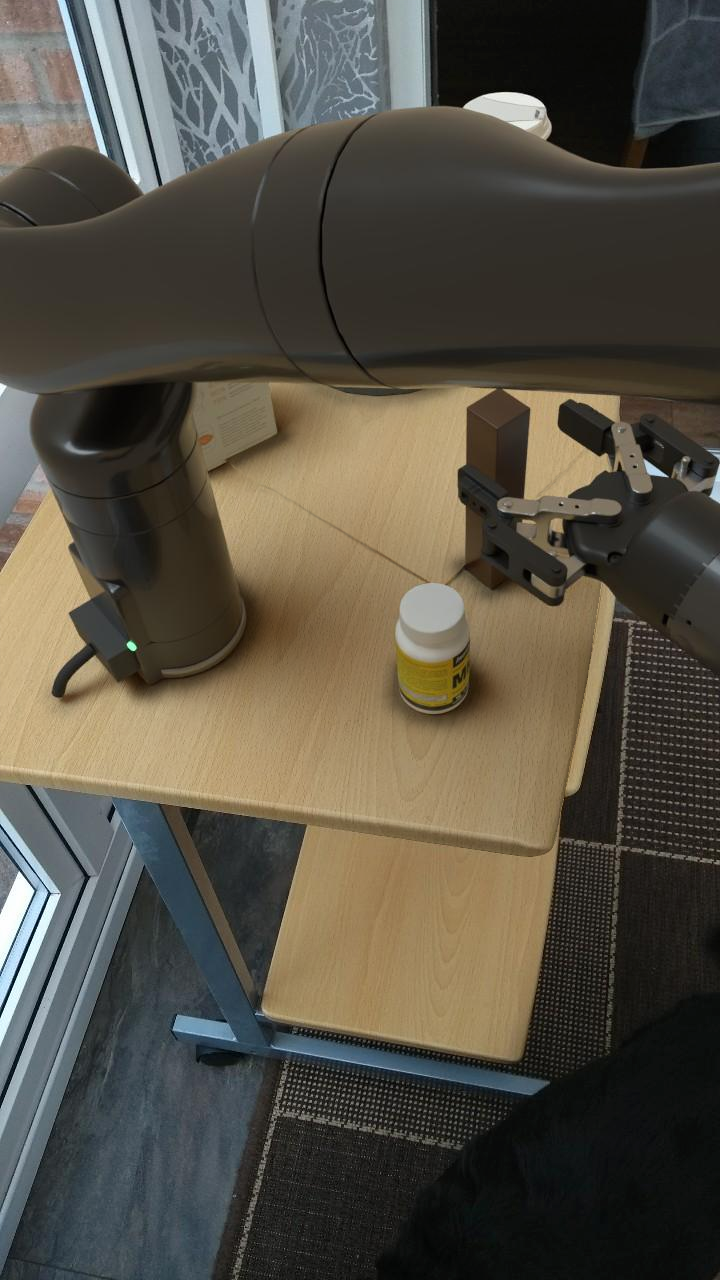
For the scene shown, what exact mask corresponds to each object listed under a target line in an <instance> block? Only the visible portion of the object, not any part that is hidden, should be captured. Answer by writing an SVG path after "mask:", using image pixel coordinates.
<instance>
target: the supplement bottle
mask: <svg viewBox="0 0 720 1280" xmlns="http://www.w3.org/2000/svg"><path fill="white" fill-rule="evenodd" d="M398 610H399V612H398V613H399V617H398V619H397V622H396V625H395V629H394V639H395V650H396V651H395V652H396V666H397V667H396V668H397V683H398V689H399V690H398V691H399V694H400V696H401V698H402V699H403V701H404V703H406V704H407V706H408V707H410V708H411V709H413V710H415V711H417V712H419V713H423V714H429V715H438V714H444V713H447V712H451V711H452V710H454V709H455V708H457V707H458V706H459V705H461V704H462V702H463V701H464V700H465V698H466V697H467V695H468V691H469V689H470V659H471V658H470V657H471V655H470V654H471V651H470V650H471V627H470V624H469V620H468V619H467V617H466V607H465V601H464V599H463V597H462V595H461V594H460V593H459V592H458V591H457V590H456V589H455V588H453V587H451V586H450V585H447V584H443V583H440V582H439V583H438V582H427V583H422V584H418V585H416V586H414V587H412V588H410V589H408V591H407V592H406V593H405V594H404V595H403V597H402V598H401V600H400V602H399V609H398Z"/></svg>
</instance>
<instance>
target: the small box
mask: <svg viewBox="0 0 720 1280" xmlns="http://www.w3.org/2000/svg"><path fill="white" fill-rule="evenodd" d="M274 412H275V411H274V406H273V399H272V394H271V390H270V385H269V383H201V382H197V397H196V402H195V406H194V411H193V417H194V421H195V425H196V429H197V433H198V437H199V440H200V444H201V448H202V452H203V456H204V460H205V464H206V467H207V471H208V472H210V471H211V470H214V469H216V468H218V467H220V466H221V465H223V464H226V463H228V461H227V459H229V458H231V457H233V456H235V455H238V454H240V453H241V452H243V451H246V450H248V449H250V448H251V447H254V446H256V445H258V444H260V443H262V442H264V441H266V440H268V439H270V438H271V437H274V436H275V435H277V434H278V428H277V421H276V418H275V413H274Z"/></svg>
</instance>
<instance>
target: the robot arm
mask: <svg viewBox="0 0 720 1280" xmlns="http://www.w3.org/2000/svg"><path fill="white" fill-rule="evenodd" d="M197 382H201V383H268V384H269V383H271V384H274V383H276V384H296V385H308V386H309V385H312V386H320V387H330V386H332V387H331V388H333V387H361V388H400V389H420V390H422V389H421V388H423V389H450V388H451V389H455V388H456V389H457V388H458V389H459V388H462V389H463V388H466V389H467V388H469V389H470V388H471V389H491V390H492V389H493V390H496V389H503V390H508V391H509V390H511V391H512V390H513V391H528V392H529V391H530V392H544V393H545V392H546V393H548V392H550V393H563V394H564V393H565V394H578V395H596V396H597V395H598V396H614V397H629V398H641V399H653V400H662V401H671V402H677V403H678V402H679V403H687V404H688V403H689V404H694V405H695V404H696V405H703V406H711V407H717V408H718V407H719V408H720V161H718V162H712V163H702V164H695V165H689V166H688V165H687V166H680V167H656V168H652V167H651V168H635V167H623V166H621V167H619V166H613V165H609V164H604V163H601V162H595V161H591V160H588V159H587V158H585V157H582V156H579V155H577V154H575V153H573V152H570V151H568V150H566V149H564V148H562V147H560V146H558V145H556V144H554V143H552V142H550V141H548V140H547V139H546V140H544V139H542V138H540V137H538V136H536V135H534V134H532V133H530V132H528V131H526V130H524V129H522V128H520V127H517V126H515V125H513V124H510V123H508V122H506V121H503V120H501V119H498V118H496V117H494V116H491V115H487V114H483V113H480V112H476V111H472V110H468V109H464V108H463V107H460V106H459V107H458V106H452V105H451V106H450V105H429V106H415V107H407V108H396V109H389V110H384V111H378V112H374V113H368V114H362V115H357V116H352V117H346V118H341V119H335V120H329V121H323V122H320V123H315V124H311V125H310V124H309V125H307V126H303V127H298V128H294V129H291V130H288V131H284V132H282V133H281V132H280V133H278V134H275V135H271V136H268V137H266V138H263V139H261V140H258V141H255V142H253V143H250V144H248V145H246V146H244V147H241V148H238V149H236V150H234V151H232V152H230V153H228V154H226V155H224V156H222V157H219V158H216V159H215V160H213V161H211V162H208V163H206V164H204V165H202V166H200V167H197V168H195V169H192V170H191V171H189V172H186V173H184V174H182V175H180V176H178V177H176V178H174V179H172V180H170V181H167V182H166V183H164V184H162V185H159V187H156V188H154V189H153V190H150V191H148V192H147V193H144V192H143V191H142V189H141V188H140V186H139V185H138V184H137V182H136V181H135V180H134V179H133V178H132V177H131V175H130V174H128V173H127V172H126V170H124V169H123V167H121V166H120V165H119V164H118V163H116V162H115V161H114V160H112V159H111V158H110V157H108V156H107V155H105V154H103V153H102V152H100V151H98V150H95V149H93V148H90V147H88V146H83V145H78V144H65V145H58V146H56V147H52V148H50V149H48V150H45V151H43V152H42V153H40V154H38V155H37V156H34V157H33V158H32V159H30V160H28V161H27V162H25V163H24V164H22V165H21V166H19V167H17V168H16V169H15V170H13V171H12V172H10V173H9V174H7V175H6V176H4V177H2V178H1V179H0V384H1V385H3V386H6V387H8V388H10V389H13V390H16V391H20V392H23V393H28V394H31V395H37V397H36V399H35V401H34V404H33V406H32V409H31V412H30V417H29V425H28V429H29V439H30V443H31V446H32V449H33V451H34V454H35V456H36V458H37V461H38V463H39V465H40V467H41V470H42V472H43V474H44V475H45V478H46V480H47V482H48V485H49V487H50V489H51V491H52V495H53V497H54V499H55V501H56V503H57V506H58V508H59V510H60V513H61V514H62V517H63V520H64V521H65V524H66V526H67V528H68V530H69V533H70V536H71V538H72V540H73V541H72V542H71V543H69V544H68V546H67V547H68V548H67V549H68V552H69V554H70V556H71V558H72V561H73V563H74V565H75V567H76V569H77V572H78V574H79V576H80V579H81V581H82V583H83V585H84V588H85V590H86V592H87V594H88V597H89V600H87V601H86V602H84V603H82V604H80V605H79V606H77V607H75V608H73V609H72V610H69V612H68V615H69V617H70V620H71V622H72V623H73V626H74V628H75V630H76V632H77V634H78V636H79V638H80V639H81V640H82V642H84V644H85V645H84V646H83V647H82V649H80V650H78V652H76V654H75V655H73V656H72V657H71V658H70V659H69V660H68V661H67V662H66V663H65V664H64V665H63V666H62V667H61V669H60V670H59V672H58V673H57V675H56V676H55V679H54V681H53V684H52V689H51V695H52V697H54V698H57V699H61V698H64V697H65V695H66V694H65V693H66V690H67V686H68V683H69V681H70V680H71V678H72V677H73V676H74V675H75V674H76V673H77V672H78V671H79V670H80V669H81V668H82V667H84V665H85V664H87V663H88V662H89V661H90V660H91V659H92V658H94V656H95V657H96V658H97V659H98V660H99V662H100V663H101V664H102V665H103V667H104V668H105V669H106V671H108V672H109V674H110V675H111V676H112V678H113V679H114V680H115V681H116V682H117V684H118V683H121V682H122V681H124V680H125V679H127V678H128V677H130V676H131V675H133V674H135V673H136V672H137V673H138V675H140V677H141V678H142V679H143V680H144V681H145V683H146V684H147V685H154V684H155V683H156V682H159V681H160V680H162V679H165V678H167V679H168V678H171V679H172V678H183V677H189V676H191V675H192V676H193V675H196V674H200V673H202V672H204V671H207V670H208V669H211V668H213V667H214V666H216V665H217V664H219V663H220V662H222V661H223V660H224V659H226V658H227V657H228V656H229V655H230V654H231V653H232V652H233V651H234V650H235V649H236V647H237V646H238V645H239V642H240V641H241V639H242V637H243V635H244V633H245V629H246V626H247V625H246V624H247V610H246V606H245V602H244V599H243V596H242V594H241V590H240V586H239V583H238V580H237V577H236V573H235V570H234V566H233V562H232V559H231V555H230V551H229V547H228V543H227V539H226V536H225V533H224V528H223V524H222V520H221V517H220V513H219V510H218V506H217V501H216V498H215V495H214V494H215V493H214V491H213V487H212V483H211V479H210V475H209V471H207V467H206V464H205V460H204V456H203V452H202V448H201V444H200V440H199V437H198V433H197V429H196V425H195V421H194V417H193V411H194V406H195V402H196V397H197ZM557 427H558V429H559V430H560V431H561V432H562V433H563V434H565V435H566V436H567V437H569V438H571V439H572V440H573V441H575V442H576V443H578V444H579V445H581V446H583V447H584V448H585V449H587V450H589V452H591V453H593V454H594V455H596V456H597V457H598V458H601V457H602V456H604V455H606V461H607V465H608V468H609V471H608V470H607V469H605V470H603V471H602V472H600V473H599V474H597V475H596V476H595V477H594V479H593V480H592V481H591V482H590V483H589V484H587V485H584V486H581V487H580V488H579V487H578V488H577V489H575V490H574V491H572V492H571V493H570V494H568V495H567V497H563V496H554V495H543V496H541V497H540V498H539V499H536V500H535V499H527V498H524V499H520V498H512V497H509V492H508V491H507V490H506V489H504V488H503V487H501V486H500V485H499V484H497V483H496V482H495V481H493V480H492V479H491V478H489V477H488V476H487V475H485V474H484V473H483V472H481V471H480V470H479V469H477V468H476V467H475V466H473V465H472V464H470V463H467V464H466V463H465V464H464V465H463V466H461V467H459V468H458V469H457V497H458V499H459V501H460V503H461V504H462V505H463V506H465V508H466V507H468V508H469V509H470V510H472V511H473V512H474V513H475V514H477V515H478V516H479V517H481V518H482V519H483V520H484V521H483V522H482V525H481V533H482V544H481V557H482V559H484V560H485V561H486V562H488V563H489V564H490V565H492V566H493V567H495V568H496V569H497V570H499V571H500V572H502V573H503V574H505V575H506V576H507V577H508V578H509V579H510V580H511V581H513V582H514V583H516V584H517V585H518V586H520V587H521V588H523V589H524V590H526V591H527V592H528V593H530V594H531V595H533V596H534V597H535V598H536V599H538V600H539V601H541V602H542V603H544V604H545V605H547V606H549V607H558V606H560V605H561V604H563V602H564V599H565V593H566V591H567V590H568V589H569V588H570V587H571V586H572V585H574V584H575V583H576V582H578V581H579V580H580V579H581V578H582V577H585V578H590V579H594V580H597V581H599V582H601V583H603V584H604V585H605V586H606V587H607V588H608V589H609V591H610V592H611V593H612V595H613V596H614V597H615V599H616V600H617V601H618V603H620V604H621V605H622V606H624V607H625V608H627V609H628V610H629V611H630V612H631V613H633V614H635V616H637V617H638V618H639V619H641V620H642V621H644V622H645V623H646V624H647V625H649V626H650V627H651V628H652V629H654V630H655V631H657V633H659V634H660V635H662V636H663V637H664V638H666V639H667V640H669V642H671V643H672V644H674V645H676V646H677V647H678V648H679V649H680V650H681V651H683V652H685V653H686V654H687V655H688V656H689V657H691V658H692V659H694V660H695V661H696V662H697V663H699V664H700V665H701V666H702V667H704V668H706V669H707V670H709V671H710V672H711V673H712V674H714V675H715V676H717V677H720V503H719V502H718V501H717V500H715V499H713V498H712V497H711V495H712V493H713V489H714V486H715V483H716V479H717V475H718V471H719V468H720V459H719V458H718V457H717V456H716V455H714V454H713V453H712V452H710V451H709V450H708V449H706V448H704V447H703V446H701V444H699V443H697V442H696V441H694V440H693V439H691V438H690V437H689V436H687V435H686V434H684V433H683V432H681V431H680V430H678V428H676V427H674V426H673V425H671V424H670V423H668V422H667V421H666V420H665V419H663V418H661V417H660V416H658V415H657V414H655V413H650V412H649V413H644V414H642V415H641V416H640V418H639V421H638V422H634V423H631V424H629V423H628V422H625V421H616V422H615V421H614V420H612V419H611V418H610V417H608V416H606V415H605V414H603V413H601V412H599V410H597V409H594V407H592V406H591V405H589V404H587V403H584V402H577V401H575V400H574V399H572V398H567V400H565V401H563V402H562V403H560V404H559V406H558V414H557ZM657 442H658V443H657ZM660 444H661V445H662V446H661V445H660ZM645 461H646V462H647V463H648V464H650V465H652V466H653V467H654V468H656V469H657V470H659V472H661V473H663V474H664V475H665V476H663V475H657V474H650V473H648V470H647V465H646V463H645ZM517 519H522V522H517ZM556 519H558V520H559V519H560V520H561V526H562V531H563V532H559V531H555V530H553V529H552V527H551V524H552V521H553V520H556ZM523 521H531V522H534V523H529V522H523ZM558 554H559V555H558ZM560 555H566V556H567V557H564V556H560Z"/></svg>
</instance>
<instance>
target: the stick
mask: <svg viewBox="0 0 720 1280" xmlns="http://www.w3.org/2000/svg"><path fill="white" fill-rule="evenodd" d="M465 413H466V421H465V422H466V423H465V425H466V427H465V431H466V432H465V433H466V435H465V454H466V455H465V465H466V464H467V463H470V464H472V465H473V466H475V467H476V468H477V469H479V470H480V471H481V472H483V473H484V474H485V475H487V476H488V477H489V478H491V479H492V480H493V481H495V482H496V483H497V484H499V485H500V486H501V487H503V488H504V489H506V490H507V491H508V492H509V497H512V498H520V499H525V490H526V489H525V488H526V478H527V477H526V475H527V465H528V464H527V463H528V448H529V437H530V432H529V431H530V422H531V421H530V420H531V407H530V406H528V405H527V404H525V403H524V402H522V401H521V400H519V399H518V398H516V397H515V396H513V395H512V394H510V393H508V391H505V389H493V390H492V391H491V392H489V393H488V394H486V395H484V396H482V397H481V398H480V399H477V400H476V401H474V402H473V403H471V404H470V405H468V406H467V407H466V412H465ZM483 521H484V520H483V519H482V518H481V517H479V516H478V515H477V514H475V513H474V512H473V511H472V510H470V509H469V508H468V507H466V506H465V523H464V525H465V526H464V527H465V528H464V529H465V531H464V532H465V534H464V535H465V536H464V537H465V538H464V543H465V544H464V569H465V570H466V571H468V572H469V573H470V574H471V575H473V576H474V577H475V578H476V579H477V580H479V581H480V582H481V583H483V584H484V586H485V587H487V588H488V589H490V590H493V589H494V588H495V587H497V586H498V585H500V584H501V583H503V582H504V581H506V580H507V579H508V578H509V577H507V576H506V575H505V574H503V573H502V572H500V571H499V570H497V569H496V568H495V567H493V566H492V565H490V564H489V563H488V562H486V561H485V560H484V559H482V557H481V544H482V533H481V525H482V522H483ZM517 522H522V523H523V520H522V519H517Z"/></svg>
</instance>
